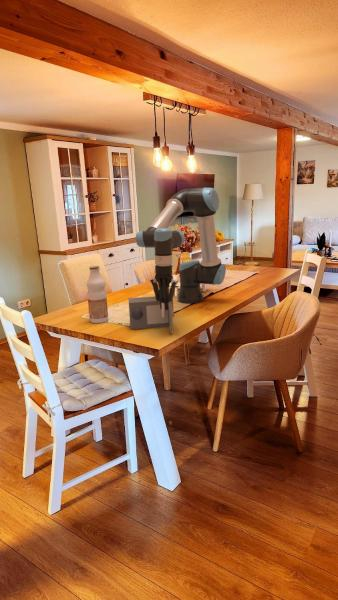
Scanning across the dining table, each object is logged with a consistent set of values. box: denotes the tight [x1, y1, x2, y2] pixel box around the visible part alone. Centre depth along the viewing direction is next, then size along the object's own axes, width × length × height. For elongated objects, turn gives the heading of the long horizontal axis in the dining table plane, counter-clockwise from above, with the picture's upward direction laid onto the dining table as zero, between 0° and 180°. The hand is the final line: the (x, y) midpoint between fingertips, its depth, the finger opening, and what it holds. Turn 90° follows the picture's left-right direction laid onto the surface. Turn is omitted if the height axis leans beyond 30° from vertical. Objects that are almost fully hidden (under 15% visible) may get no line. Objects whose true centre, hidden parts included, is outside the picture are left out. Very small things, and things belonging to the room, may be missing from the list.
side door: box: [168, 302, 174, 334], centre depth 181 cm, size 12×2×12 cm, turn 1°
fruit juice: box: [86, 265, 109, 324], centre depth 199 cm, size 9×9×28 cm
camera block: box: [128, 295, 170, 331], centre depth 190 cm, size 19×10×14 cm, turn 97°
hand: (164, 316), depth 180 cm, fingers closed
